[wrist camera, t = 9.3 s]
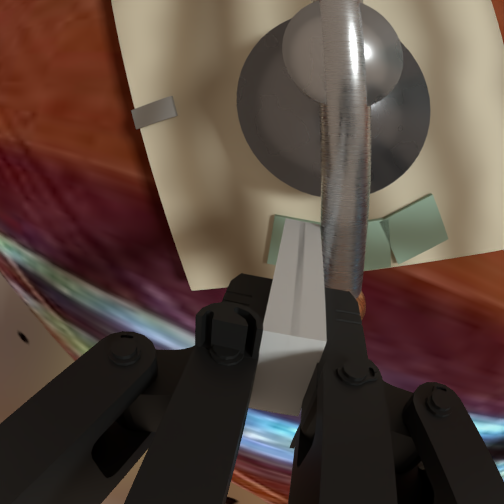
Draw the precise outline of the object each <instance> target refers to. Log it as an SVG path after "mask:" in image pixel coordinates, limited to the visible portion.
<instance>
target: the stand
mask: <svg viewBox="0 0 504 504" xmlns="http://www.w3.org/2000/svg"><path fill="white" fill-rule="evenodd" d="M111 2H112V8H113V13H114V19H115V24H116V29H117V34H118V39H119V43H120V48H121V53H122V57H123V62H124V66H125V70H126V75H127V79H128V83H129V87H130V91H131V96H132V100H133V104H134V107H135V109H133V110H131V112H132V116H133V120H134V124H135V127H136V129H140V130H141V134H142V138H143V141H144V145H145V148H146V152H147V155H148V159H149V162H150V166H151V169H152V173H153V176H154V179H155V183H156V186H157V189H158V192H159V196H160V199H161V202H162V205H163V208H164V212H165V215H166V218H167V221H168V224H169V227H170V230H171V233H172V236H173V239H174V242H175V245H176V248H177V251H178V254H179V257H180V260H181V262H182V265H183V268H184V271H185V274H186V277H187V279H188V282H189V285H190V288H191V290H192V291H194V290H204V289H214V288H224V287H228V286H229V284H230V281H231V280H232V279H234V278H235V277H237V276H238V275H239V274H241V273H243V274H249V275H254V276H259V277H265V278H270V279H273V276H274V272H275V267H276V262H277V258H278V253H279V248H280V243H281V238H282V234H283V229H284V224H285V219H286V218H287V219H293V220H298V221H304V222H309V223H315V224H320V225H321V197H318V196H313V195H310V194H307V193H304V192H301V191H299V190H297V189H295V188H293V187H291V186H289V185H287V184H286V183H284V182H282V181H281V180H279V179H278V178H277V177H275V176H274V175H273V174H272V173H270V172H269V171H268V170H267V169H266V168H265V167H264V166H263V165H262V164H261V163H260V161H259V160H258V159H257V157H256V156H255V155H254V153H253V152H252V150H251V148H250V147H249V145H248V143H247V142H246V139H245V137H244V134H243V132H242V130H241V126H240V122H239V119H238V112H237V87H238V81H239V77H240V73H241V70H242V68H243V65H244V63H245V61H246V59H247V57H248V55H249V54H250V52H251V50H252V49H253V48H254V46H255V45H256V44H257V43H258V42H259V40H260V39H261V38H262V37H263V36H265V35H266V34H267V33H268V32H269V31H270V30H272V29H273V28H275V27H276V26H278V25H279V24H281V23H283V22H285V21H287V20H289V19H291V18H293V17H294V15H295V14H296V13H297V12H299V11H300V10H301V9H302V8H304V7H305V6H307V5H309V4H311V3H312V2H311V0H111ZM363 3H364V4H365V5H367V6H369V7H371V8H373V9H374V10H376V11H377V12H378V13H380V14H381V15H382V16H383V17H384V18H385V19H386V20H387V21H388V22H389V23H390V24H391V26H392V27H393V28H394V30H395V32H396V33H397V35H398V38H399V40H400V41H401V42H402V43H403V44H404V46H405V47H406V48H407V49H408V50H409V51H410V53H411V54H412V56H413V57H414V59H415V60H416V62H417V63H418V65H419V67H420V69H421V71H422V73H423V75H424V78H425V81H426V84H427V87H428V92H429V97H430V109H431V112H430V124H429V129H428V134H427V137H426V140H425V143H424V146H423V148H422V149H421V151H420V153H419V155H418V157H417V158H416V160H415V161H414V163H413V164H412V165H411V167H410V168H409V169H408V170H407V171H406V172H405V173H404V174H403V175H402V176H401V177H399V178H398V179H397V180H396V181H395V182H393V183H392V184H390V185H388V186H387V187H385V188H383V189H381V190H379V191H376V192H374V193H371V194H370V200H369V216H368V230H367V242H366V253H365V262H364V271H368V270H375V269H383V268H390V267H397V266H404V265H410V264H417V263H424V262H430V261H437V260H443V259H450V258H456V257H462V256H468V255H474V254H480V253H486V252H492V251H498V250H504V45H503V40H502V36H501V33H500V29H499V25H498V22H497V18H496V15H495V12H494V9H493V5H492V2H491V0H363Z"/></svg>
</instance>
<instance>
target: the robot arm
mask: <svg viewBox="0 0 504 504" xmlns="http://www.w3.org/2000/svg"><path fill="white" fill-rule="evenodd" d="M361 324H362V321H361V316H360V310H359V305H358V302H357V300H356V299H355V298H354V296H353V295H352V294H351V293H350V292H349V291H344V290H338V289H332V288H326V287H324V272H323V257H322V243H321V231H320V224H315V223H309V222H304V221H298V220H293V219H287V218H286V219H285V224H284V229H283V234H282V238H281V243H280V248H279V253H278V258H277V262H276V267H275V272H274V276H273V279H270V278H265V277H259V276H254V275H249V274H243V273H241V274H239V275H238V276H237V277H235V278H234V279H232V280H231V281H230V284H229V286H228V288H227V291H226V293H225V295H224V298H223V301H222V302H220V303H213V304H210V305H208V306H206V307H204V308H202V309H201V310H200V311H199V312H198V313H197V314H196V330H195V346H193V347H190V348H186V349H181V350H156V349H155V347H154V345H153V343H152V341H151V340H149V339H148V338H147V337H145V336H144V335H141V334H138V333H135V332H123V331H122V332H118V333H113V334H111V335H109V336H107V337H105V338H103V339H102V340H101V341H99V342H98V343H97V344H96V345H94V346H93V347H92V348H91V349H90V350H88V351H87V352H86V353H85V354H83V355H82V356H81V357H80V358H78V359H77V360H76V361H75V362H74V363H72V364H71V365H70V366H69V367H67V368H66V369H65V370H64V371H63V372H61V373H60V374H59V375H58V376H57V377H55V378H54V379H53V380H52V381H51V382H49V383H48V384H47V385H46V386H45V387H43V388H42V389H41V390H40V391H39V392H37V393H36V394H35V395H34V396H33V397H31V398H30V399H29V400H28V401H27V402H26V403H24V404H23V405H22V406H21V407H20V408H18V409H17V410H16V411H15V412H14V413H13V414H11V415H10V416H9V417H8V418H7V419H5V420H4V421H3V422H2V423H1V424H0V504H101V503H102V502H103V501H104V499H105V498H106V497H107V496H108V495H109V494H110V492H112V490H113V489H114V488H115V487H116V486H117V484H118V483H119V482H120V481H121V480H122V479H123V478H124V476H125V475H126V474H127V473H128V472H129V471H130V469H131V468H132V467H133V466H134V464H135V463H136V462H137V461H138V460H139V459H140V458H141V456H142V455H143V454H144V453H145V451H146V450H147V449H148V448H149V449H148V451H147V453H146V455H145V457H144V460H143V462H142V465H141V467H140V469H139V471H138V473H137V475H136V478H135V480H134V482H133V485H132V487H131V489H130V491H129V494H128V496H127V498H126V500H125V503H124V504H225V502H226V498H227V494H228V490H229V486H230V482H231V478H232V475H233V471H234V467H235V463H236V459H237V455H238V450H239V446H240V442H241V438H242V434H243V430H244V426H245V421H246V416H247V412H248V408H253V409H259V410H264V411H269V412H275V413H281V414H287V415H294V416H298V415H299V413H300V410H301V408H302V412H301V423H300V425H299V427H298V429H297V431H296V434H295V436H294V438H293V440H292V443H291V445H290V448H294V447H295V450H294V459H293V468H292V477H291V485H290V493H289V501H288V504H504V481H503V479H502V477H501V475H500V473H499V471H498V469H497V467H496V465H495V463H494V461H493V459H492V457H491V455H490V453H489V451H488V449H487V447H486V445H485V443H484V441H483V439H482V437H481V436H480V434H479V432H478V430H477V428H476V426H475V424H474V423H473V421H472V419H471V417H470V416H469V414H468V412H467V410H466V408H465V407H464V405H463V403H462V402H461V400H460V398H459V397H458V396H457V395H456V393H455V392H454V391H453V390H451V389H450V388H448V387H447V386H446V385H443V384H440V383H437V382H427V383H424V384H422V385H420V386H419V387H418V388H417V389H416V390H415V392H414V393H412V392H409V391H406V390H403V389H400V388H397V387H395V386H392V385H390V384H388V383H386V382H384V381H383V380H382V376H381V374H380V371H379V369H378V368H377V366H376V365H375V364H374V363H373V362H372V361H370V360H369V359H368V356H367V350H366V344H365V338H364V332H363V326H362V325H361Z"/></svg>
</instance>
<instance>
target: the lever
mask: <svg viewBox="0 0 504 504" xmlns="http://www.w3.org/2000/svg"><path fill="white" fill-rule="evenodd" d="M311 2H312V3H311V4H309V5H307V6H305V7H304V8H302V9H301V10H300V11H299V12H297V13H296V14H295V15H294V17H293V18H291V19H289V20H287V21H285V22H283V23H281V24H279V25H278V26H276V27H275V28H273V29H272V30H270V31H269V32H268V33H267V34H266V35H265V36H263V37H262V38H261V39H260V40H259V42H258V43H257V44H256V45H255V46H254V48H253V49H252V50H251V52H250V54H249V55H248V57H247V59H246V61H245V63H244V65H243V68H242V70H241V73H240V77H239V81H238V87H237V112H238V119H239V122H240V126H241V130H242V132H243V134H244V137H245V139H246V142H247V143H248V145H249V147H250V148H251V150H252V152H253V153H254V155H255V156H256V157H257V159H258V160H259V161H260V163H261V164H262V165H263V166H264V167H265V168H266V169H267V170H268V171H269V172H270V173H272V174H273V175H274V176H275V177H277V178H278V179H279V180H281V181H282V182H284V183H286V184H287V185H289V186H291V187H293V188H295V189H297V190H299V191H301V192H304V193H307V194H310V195H313V196H318V197H321V225H320V231H321V243H322V257H323V272H324V287H326V288H332V289H338V290H344V291H349V292H350V293H351V294H352V295H353V296H354V298H355V299H356V300H357V302H358V305H359V310H360V316H361V321H362V319H363V317H364V314H365V310H366V302H365V297H364V295H363V293H362V291H361V288H362V280H363V272H364V262H365V253H366V242H367V230H368V216H369V200H370V194H371V193H374V192H376V191H379V190H381V189H383V188H385V187H387V186H388V185H390V184H392V183H393V182H395V181H396V180H397V179H398V178H399V177H401V176H402V175H403V174H404V173H405V172H406V171H407V170H408V169H409V168H410V167H411V165H412V164H413V163H414V161H415V160H416V158H417V157H418V155H419V153H420V151H421V149H422V148H423V146H424V143H425V140H426V137H427V134H428V129H429V124H430V112H431V109H430V97H429V92H428V87H427V84H426V81H425V78H424V75H423V73H422V71H421V69H420V67H419V65H418V63H417V62H416V60H415V59H414V57H413V56H412V54H411V53H410V51H409V50H408V49H407V48H406V47H405V46H404V44H403V43H402V42H401V41H400V40H399V38H398V35H397V33H396V32H395V30H394V28H393V27H392V26H391V24H390V23H389V22H388V21H387V20H386V19H385V18H384V17H383V16H382V15H381V14H380V13H378V12H377V11H376V10H374V9H373V8H371V7H369V6H367V5H365V4H364V3H363V0H311Z"/></svg>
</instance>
